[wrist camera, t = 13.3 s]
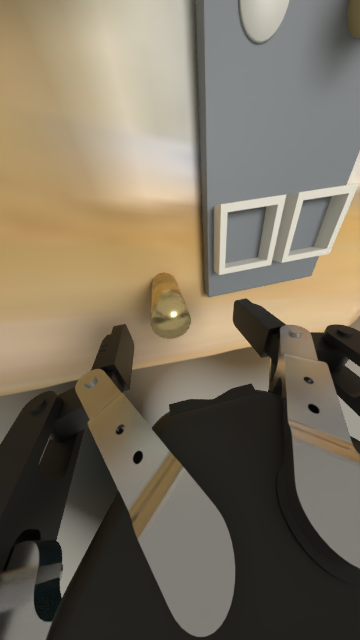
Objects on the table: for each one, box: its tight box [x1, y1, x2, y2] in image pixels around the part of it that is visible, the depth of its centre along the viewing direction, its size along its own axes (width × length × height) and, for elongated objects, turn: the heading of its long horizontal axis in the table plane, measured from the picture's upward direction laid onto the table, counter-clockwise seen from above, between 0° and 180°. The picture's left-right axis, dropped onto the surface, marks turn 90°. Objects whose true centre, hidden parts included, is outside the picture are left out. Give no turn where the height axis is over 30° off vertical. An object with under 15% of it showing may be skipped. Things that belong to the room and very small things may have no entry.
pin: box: [151, 273, 191, 338], centre depth 14 cm, size 3×3×8 cm
